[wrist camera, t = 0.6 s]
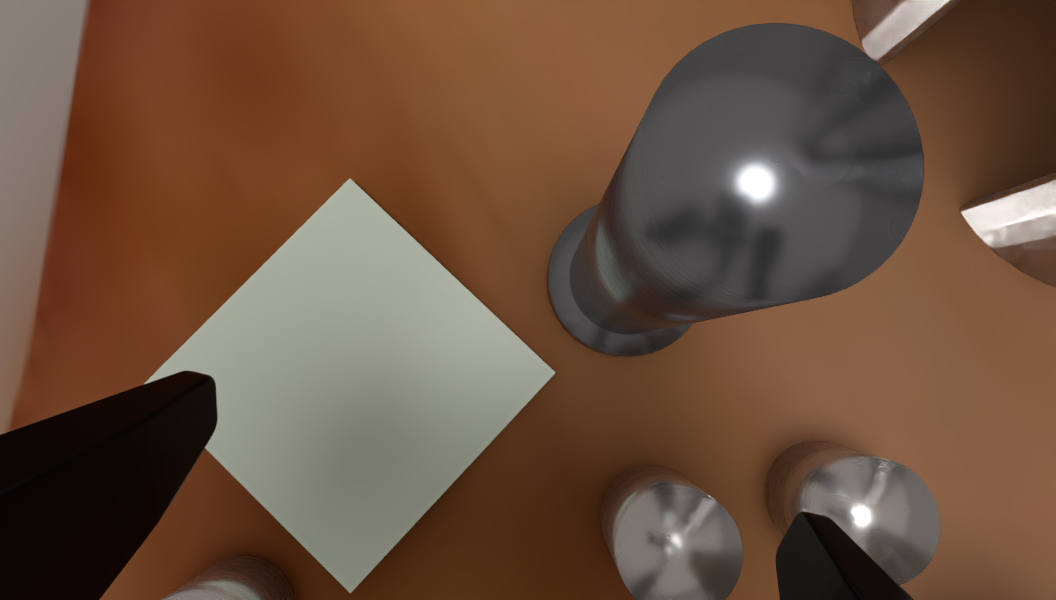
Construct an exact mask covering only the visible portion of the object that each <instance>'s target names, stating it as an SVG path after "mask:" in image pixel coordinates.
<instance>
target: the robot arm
mask: <svg viewBox="0 0 1056 600" xmlns="http://www.w3.org/2000/svg"><path fill="white" fill-rule="evenodd" d="M217 420H218V413H217V395H216V383H215V380H214V378H213V377H212V376H210V375H207V374H203V373H198V372H194V371H187V370H186V371H181V372H178V373H175V374H172V375H169V376H167V377H164V378H161V379H158V380H155V381H152V382H150V383H147V384H144V385H141V386H138V387H135V388H132V389H130V390H127V391H124V392H121V393H118V394H115V395H113V396H110V397H107V398H104V399H101V400H98V401H95V402H93V403H90V404H87V405H84V406H81V407H78V408H76V409H73V410H70V411H67V412H64V413H61V414H58V415H56V416H53V417H50V418H47V419H44V420H41V421H38V422H36V423H33V424H30V425H27V426H24V427H21V428H18V429H16V430H13V431H10V432H7V433H4V434H1V435H0V600H99V599H100V598H101V597H102V595H103V594H104V593H105V592H106V590H107V589H108V588H109V586H110V585H111V584H112V582H113V581H114V580H115V579H116V577H117V576H118V575H119V573H120V572H121V571H122V569H123V568H124V567H125V566H126V564H127V563H128V562H129V560H130V559H131V558H132V556H133V555H134V554H135V552H136V551H137V550H138V549H139V547H140V546H141V545H142V543H143V542H144V541H145V539H146V538H147V537H148V536H149V534H150V533H151V531H152V530H153V529H154V527H155V526H156V525H157V523H158V522H159V520H160V519H161V517H162V516H163V514H164V513H165V511H166V510H167V508H168V507H169V505H170V503H171V502H172V500H173V499H174V497H175V495H176V494H177V492H178V490H179V489H180V487H181V486H182V484H183V482H184V481H185V479H186V477H187V476H188V474H189V473H190V471H191V469H192V468H193V466H194V464H195V463H196V461H197V460H198V458H199V456H200V455H201V453H202V451H203V450H204V448H205V447H206V445H207V443H208V442H209V440H210V438H211V437H212V435H213V433H214V431H215V429H216V425H217ZM776 570H777V579H778V587H779V596H780V600H914V599H913V598H912V597H911V596H910V595H909V594H908V593H907V592H906V591H905V590H904V589H903V588H901V587H900V586H899V585H898V584H897V583H896V582H895V581H894V580H893V579H892V578H891V577H890V576H889V575H888V574H887V573H886V572H885V571H884V570H883V569H882V568H881V567H880V566H879V565H878V564H877V563H876V562H875V561H874V560H873V559H872V558H871V557H870V556H869V555H868V554H867V553H866V552H865V551H864V550H863V549H862V548H861V547H860V546H859V545H858V544H857V543H856V542H854V541H853V540H852V539H851V538H850V537H849V536H848V535H847V534H846V533H845V532H844V531H843V530H842V529H841V528H840V527H839V526H838V525H837V524H836V523H835V522H834V521H833V520H832V519H831V518H829V517H827V516H824V515H819V514H815V513H811V512H806V511H804V512H800V513H798V514H797V515H796V516H795V518H794V520H793V521H792V523H791V525H790V527H789V529H788V530H787V532H786V534H785V536H784V538H783V539H782V541H781V543H780V545H779V547H778V550H777V553H776Z"/></svg>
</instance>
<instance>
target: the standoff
mask: <svg viewBox="0 0 1056 600" xmlns="http://www.w3.org/2000/svg"><path fill="white" fill-rule="evenodd" d="M923 178H924V157H923V149H922V143H921V137H920V134H919V130H918V127H917V124H916V120H915V118H914V116H913V113H912V111H911V109H910V107H909V105H908V102H907V101H906V99H905V98H904V96H903V94H902V93H901V91H900V89H899V88H898V86H897V85H896V84H895V83H894V81H893V80H892V79H891V77H890V76H889V75H888V74H887V73H886V72H885V71H884V70H883V69H882V68H881V67H880V66H879V65H878V64H877V63H876V62H875V61H874V60H873V59H872V58H871V57H869V56H868V55H867V54H865V53H864V52H863V51H861V50H860V49H859V48H857V47H855V46H854V45H852V44H850V43H848V42H847V41H845V40H843V39H841V38H839V37H837V36H834V35H832V34H830V33H827V32H825V31H821V30H818V29H814V28H811V27H807V26H801V25H795V24H785V23H766V24H754V25H749V26H745V27H740V28H736V29H733V30H730V31H727V32H725V33H722V34H719V35H717V36H715V37H713V38H711V39H709V40H707V41H705V42H704V43H702V44H701V45H699V46H698V47H696V48H695V49H693V50H692V51H690V52H689V53H688V54H687V55H686V56H685V57H684V58H682V59H681V60H680V61H679V62H678V63H677V64H676V65H675V66H674V67H673V68H672V70H671V71H670V72H669V73H668V74H667V76H666V77H665V78H664V80H663V81H662V83H661V84H660V86H659V88H658V89H657V91H656V92H655V94H654V96H653V98H652V100H651V102H650V104H649V106H648V108H647V110H646V112H645V114H644V116H643V118H642V120H641V122H640V124H639V126H638V128H637V130H636V132H635V134H634V136H633V138H632V140H631V142H630V144H629V146H628V148H627V150H626V152H625V154H624V156H623V158H622V160H621V162H620V164H619V166H618V168H617V170H616V172H615V174H614V176H613V178H612V180H611V182H610V184H609V186H608V188H607V190H606V191H605V193H604V195H603V197H602V199H601V201H600V203H599V205H596V206H594V207H592V208H590V209H588V210H586V211H584V212H583V213H582V214H580V215H579V216H577V217H576V218H575V219H574V220H573V221H572V222H571V223H570V224H569V225H568V226H567V227H566V228H565V230H564V231H563V232H562V234H561V235H560V237H559V239H558V240H557V242H556V245H555V247H554V249H553V252H552V255H551V259H550V262H549V268H548V278H547V284H548V293H549V297H550V302H551V304H552V307H553V310H554V312H555V314H556V316H557V318H558V319H559V321H560V322H561V324H562V325H563V327H564V328H565V329H566V330H567V331H568V332H569V333H570V334H571V335H572V336H573V337H574V338H575V339H576V340H578V341H579V342H580V343H582V344H584V345H585V346H587V347H589V348H591V349H593V350H595V351H597V352H601V353H604V354H608V355H614V356H639V355H645V354H649V353H653V352H655V351H658V350H661V349H663V348H664V347H666V346H668V345H670V344H672V343H673V342H674V341H676V340H677V339H678V338H680V337H681V336H682V335H683V334H684V333H685V332H686V331H687V329H688V328H689V327H690V326H691V324H692V323H695V322H700V321H705V320H710V319H715V318H720V317H725V316H730V315H735V314H740V313H745V312H750V311H755V310H759V309H764V308H769V307H774V306H779V305H784V304H789V303H794V302H799V301H804V300H809V299H813V298H818V297H822V296H826V295H830V294H833V293H836V292H838V291H841V290H843V289H846V288H848V287H850V286H852V285H854V284H856V283H857V282H859V281H861V280H863V279H864V278H866V277H867V276H868V275H870V274H871V273H872V272H874V271H875V270H876V269H878V268H879V267H880V266H881V265H882V264H883V263H884V262H885V261H886V260H887V259H888V258H889V257H890V256H891V255H892V254H893V252H894V251H895V250H896V249H897V247H898V246H899V245H900V243H901V242H902V241H903V239H904V237H905V235H906V234H907V232H908V230H909V228H910V227H911V224H912V222H913V219H914V217H915V214H916V212H917V209H918V206H919V202H920V198H921V194H922V187H923Z"/></svg>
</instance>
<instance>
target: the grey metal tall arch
mask: <svg viewBox="0 0 1056 600" xmlns="http://www.w3.org/2000/svg"><path fill="white" fill-rule="evenodd" d="M961 1H962V0H852V3H853V13H854V19H855V22H856V26H857V29H858V33H859V36H860V40H861V43H862V45H863V47H864V49H865V52H866V54H867V55H868V56H869V57H871V58H872V59H873V60H874V61H875V62H876V63H877V64H878V65H881V64H883V63H885V62H887V61H888V60H890V59H891V58H892V57H893V56H895V55H896V54H897V53H898V52H900V51H901V50H902V49H903V48H904V47H906V46H907V45H908V44H909V43H911V42H912V41H913V40H914V39H916V38H917V37H918V36H919V35H921V34H922V33H923V32H924V31H925V30H927V29H928V28H929V27H930V26H932V25H933V24H934V23H935V22H937V21H938V20H939V19H940V18H941V17H943V16H944V15H945V14H946V13H948V12H949V11H950V10H951V9H953V8H954V7H955V6H956V5H958V4H959V3H960V2H961ZM960 212H961V214H962V215H963V216H964V218H965V219H966V220H967V222H968V223H969V224H970V226H971V227H972V228H973V230H974V231H975V232H976V234H977V235H978V236H979V237H980V238H981V239H982V240H983V241H984V242H985V243H986V244H987V245H988V246H990V247H991V248H992V249H993V250H994V251H995V252H996V253H997V254H998V255H999V256H1001V257H1002V258H1003V259H1005V260H1006V261H1008V262H1009V263H1010V264H1012V265H1013V266H1015V267H1016V268H1017V269H1019V270H1020V271H1022V272H1024V273H1026V274H1028V275H1030V276H1032V277H1034V278H1036V279H1038V280H1040V281H1042V282H1044V283H1046V284H1048V285H1052V286H1055V287H1056V172H1055V173H1052V174H1049V175H1046V176H1043V177H1040V178H1037V179H1035V180H1032V181H1029V182H1026V183H1023V184H1020V185H1017V186H1014V187H1012V188H1009V189H1006V190H1003V191H1000V192H997V193H994V194H991V195H989V196H986V197H983V198H980V199H977V200H974V201H972V202H970V203H968V204H966V205H964V206H962V207H961V208H960Z"/></svg>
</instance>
